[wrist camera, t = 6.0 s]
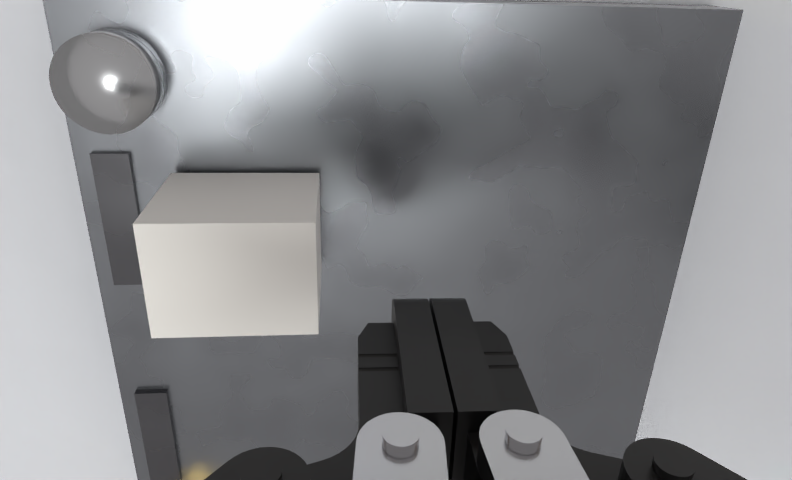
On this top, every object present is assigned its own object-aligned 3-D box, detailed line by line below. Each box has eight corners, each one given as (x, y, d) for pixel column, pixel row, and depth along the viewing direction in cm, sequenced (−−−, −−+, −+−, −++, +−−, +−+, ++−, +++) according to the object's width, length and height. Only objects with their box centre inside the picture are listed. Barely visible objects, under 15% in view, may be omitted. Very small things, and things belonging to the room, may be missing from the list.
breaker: (319, 173, 17) (315, 222, 14) (321, 268, 18) (318, 334, 15) (171, 172, 17) (132, 223, 13) (183, 270, 18) (151, 338, 15)
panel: (712, 5, 18) (772, 13, 15) (596, 504, 26) (623, 560, 24) (65, -12, 16) (17, -6, 14) (163, 527, 25) (144, 589, 22)
